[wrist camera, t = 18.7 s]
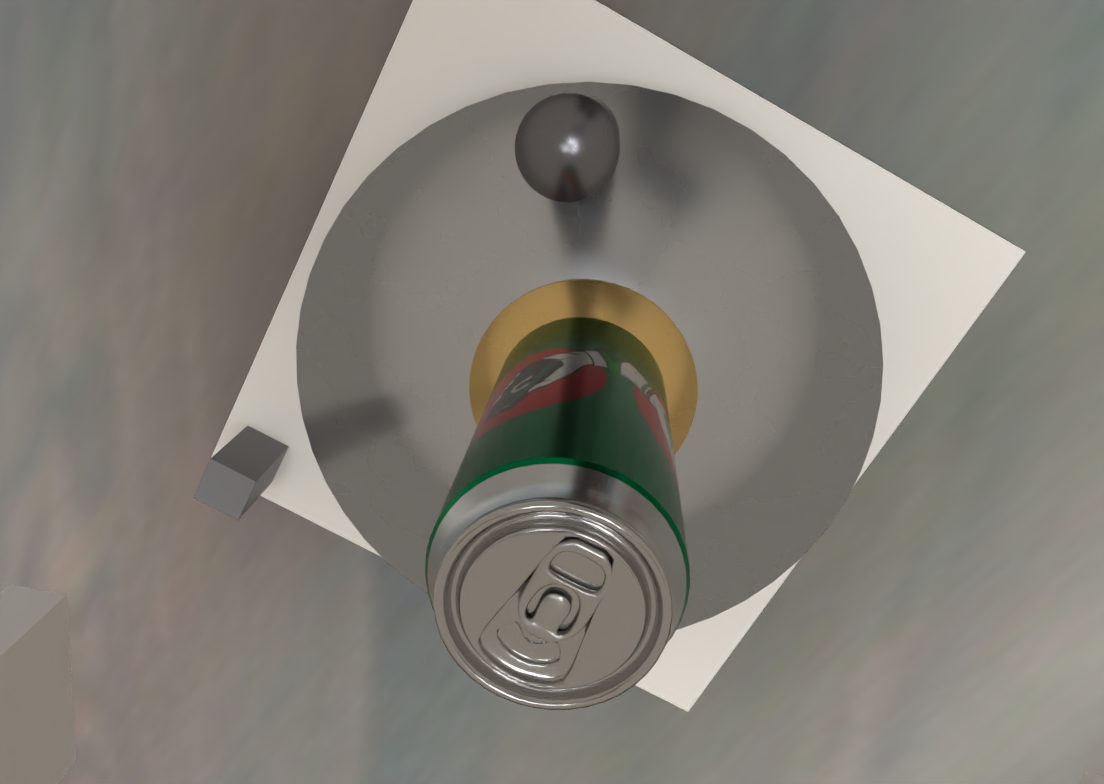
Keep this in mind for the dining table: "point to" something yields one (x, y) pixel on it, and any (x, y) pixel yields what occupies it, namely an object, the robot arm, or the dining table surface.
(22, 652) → the robot arm
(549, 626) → the soda can
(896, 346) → the base plate
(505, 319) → the turntable
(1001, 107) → the dining table surface
